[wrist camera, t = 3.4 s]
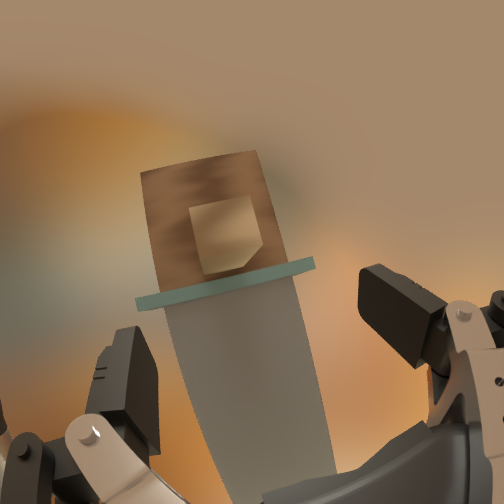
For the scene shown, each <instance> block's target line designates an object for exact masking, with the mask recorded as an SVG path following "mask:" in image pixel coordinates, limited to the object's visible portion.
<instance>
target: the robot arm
mask: <svg viewBox="0 0 504 504" xmlns="http://www.w3.org/2000/svg"><path fill="white" fill-rule="evenodd" d="M358 310H359V313H360V316H361V317H362V319H363V320H364V321H365V322H366V323H367V324H368V325H370V326H371V327H372V328H373V329H374V330H375V331H376V332H377V333H378V334H379V335H380V336H381V337H382V338H383V339H384V340H385V341H386V342H387V343H388V344H389V345H390V346H391V347H392V348H394V349H395V350H396V351H397V352H398V353H399V354H400V355H401V356H402V357H403V358H404V359H405V360H406V361H407V362H408V363H409V364H410V365H411V366H412V367H413V368H414V369H417V368H418V367H420V366H421V365H423V364H424V363H427V364H428V365H429V366H428V369H427V381H428V398H429V415H428V420H427V423H426V424H425V423H424V422H423V421H420V422H419V423H418V424H416V425H414V426H413V427H411V428H410V429H408V430H407V431H405V432H404V433H402V434H400V435H399V436H397V437H395V438H394V439H392V440H390V441H389V442H388V443H387V444H386V445H385V446H384V447H383V448H382V449H381V450H379V452H377V453H376V454H375V455H374V456H373V457H371V458H370V459H369V460H368V461H367V462H366V463H364V464H363V465H362V466H361V467H359V468H358V469H356V470H353V471H349V472H345V473H340V474H336V475H330V476H325V477H319V478H313V479H307V480H304V481H301V482H298V483H295V484H292V485H289V486H286V487H283V488H279V489H276V490H272V491H269V492H265V493H261V496H262V499H263V501H264V502H262V503H260V504H504V291H502V290H500V291H496V292H494V293H493V294H492V297H491V301H490V304H489V306H486V307H483V308H478V307H477V306H476V305H474V304H472V303H470V302H467V301H454V302H451V303H450V304H448V303H446V302H445V301H443V300H442V299H440V298H439V297H437V296H436V295H434V294H433V293H431V292H430V291H428V290H426V289H425V288H422V286H420V285H419V284H417V283H414V281H412V280H410V279H409V278H408V277H406V276H404V275H401V274H397V273H395V272H393V271H391V270H390V269H388V268H386V267H385V266H383V265H381V264H375V265H372V266H369V267H366V268H363V269H361V270H360V273H359V288H358ZM95 369H96V371H95V372H94V375H93V381H92V384H91V388H90V392H89V396H88V401H87V405H86V410H85V415H82V416H80V417H78V418H77V419H75V420H74V421H73V422H72V423H71V424H70V425H69V427H68V429H67V431H66V434H65V437H62V438H59V439H56V440H52V441H49V442H45V443H44V442H43V441H42V440H41V439H40V438H39V437H38V436H37V435H35V434H34V433H29V432H25V433H22V434H20V435H18V436H17V437H16V438H15V439H14V440H13V438H12V436H11V434H10V432H9V429H8V427H7V424H6V422H5V420H4V416H3V411H2V405H1V400H0V504H51V495H52V496H54V497H55V504H99V502H98V500H101V501H102V504H191V503H189V502H188V501H187V500H186V499H185V498H183V497H182V496H181V495H180V494H179V493H177V492H176V491H175V490H174V489H173V488H172V487H171V486H169V485H168V484H167V483H166V482H165V481H164V480H163V479H162V478H161V477H160V476H159V475H158V474H157V473H156V472H155V471H154V470H153V469H151V467H150V466H149V456H152V455H160V454H161V452H160V437H159V408H158V371H157V367H156V363H155V361H154V359H153V356H152V354H151V352H150V350H149V347H148V345H147V343H146V341H145V338H144V336H143V334H142V332H141V330H140V328H139V327H138V326H134V327H128V328H123V329H118V330H116V333H115V337H114V341H113V344H112V346H107V347H106V348H105V349H104V350H103V352H102V353H101V354H100V356H99V357H98V360H97V364H96V368H95Z"/></svg>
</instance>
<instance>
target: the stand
mask: <svg viewBox="0 0 504 504" xmlns="http://www.w3.org/2000/svg"><path fill="white" fill-rule="evenodd" d="M313 269H315V264H314V260H313V257H307V258H304V259H300V260H296V261H292V262H288V263H284V264H280V265H276V266H271V267H267V268H263V269H259V270H255V271H251V272H247V273H243V274H239V275H235V276H230V277H226V278H222V279H218V280H214V281H209V282H205V283H201V284H196V285H192V286H188V287H183V288H179V289H175V290H170V291H166V292H161V293H157V294H153V295H148V296H144V297H139V298H135V300H136V305H137V309H138V311H147V310H153V309H158V308H163V307H164V310H165V314H166V318H167V322H168V326H169V330H170V334H171V337H172V341H173V345H174V349H175V352H176V355H177V359H178V362H179V366H180V369H181V372H182V375H183V378H184V381H185V385H186V388H187V391H188V394H189V397H190V400H191V403H192V405H193V408H194V412H195V414H196V417H197V420H198V423H199V425H200V428H201V431H202V433H203V436H204V438H205V441H206V443H207V446H208V448H209V451H210V453H211V456H212V458H213V460H214V463H215V465H216V467H217V469H218V472H219V474H220V476H221V479H222V481H223V483H224V485H225V487H226V489H227V491H228V494H229V496H230V498H231V500H232V502H233V504H260V503H262V502H264V501H263V499H262V496H261V493H265V492H269V491H272V490H276V489H279V488H283V487H286V486H289V485H292V484H295V483H298V482H301V481H304V480H307V479H313V478H319V477H325V476H330V475H336V474H337V471H336V466H335V461H334V456H333V450H332V445H331V440H330V435H329V430H328V425H327V421H326V416H325V411H324V407H323V402H322V398H321V393H320V389H319V384H318V380H317V376H316V371H315V367H314V362H313V358H312V354H311V351H310V346H309V341H308V337H307V333H306V329H305V325H304V321H303V317H302V313H301V309H300V305H299V301H298V298H297V294H296V290H295V286H294V282H293V278H292V276H294V275H298V274H301V273H304V272H307V271H310V270H313Z"/></svg>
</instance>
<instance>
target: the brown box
mask: <svg viewBox="0 0 504 504" xmlns="http://www.w3.org/2000/svg"><path fill="white" fill-rule="evenodd" d="M140 174H141V183H142V191H143V199H144V206H145V213H146V219H147V225H148V232H149V238H150V244H151V249H152V254H153V260H154V265H155V270H156V275H157V280H158V284H159V289H160V293H161V292H166V291H170V290H175V289H179V288H183V287H188V286H192V285H196V284H201V283H205V282H209V281H214V280H218V279H222V278H226V277H230V276H235V275H239V274H243V273H247V272H251V271H255V270H259V269H263V268H267V267H271V266H276V265H280V264H284V263H288V259H287V256H286V252H285V248H284V245H283V241H282V237H281V234H280V230H279V227H278V223H277V220H276V216H275V213H274V209H273V206H272V202H271V199H270V195H269V192H268V189H267V185H266V182H265V178H264V175H263V172H262V168H261V165H260V162H259V159H258V155H257V152H256V150H252V151H246V152H239V153H233V154H226V155H221V156H215V157H210V158H205V159H199V160H195V161H189V162H184V163H179V164H175V165H171V166H166V167H162V168H157V169H154V170H149V171H145V172H141V173H140Z"/></svg>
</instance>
